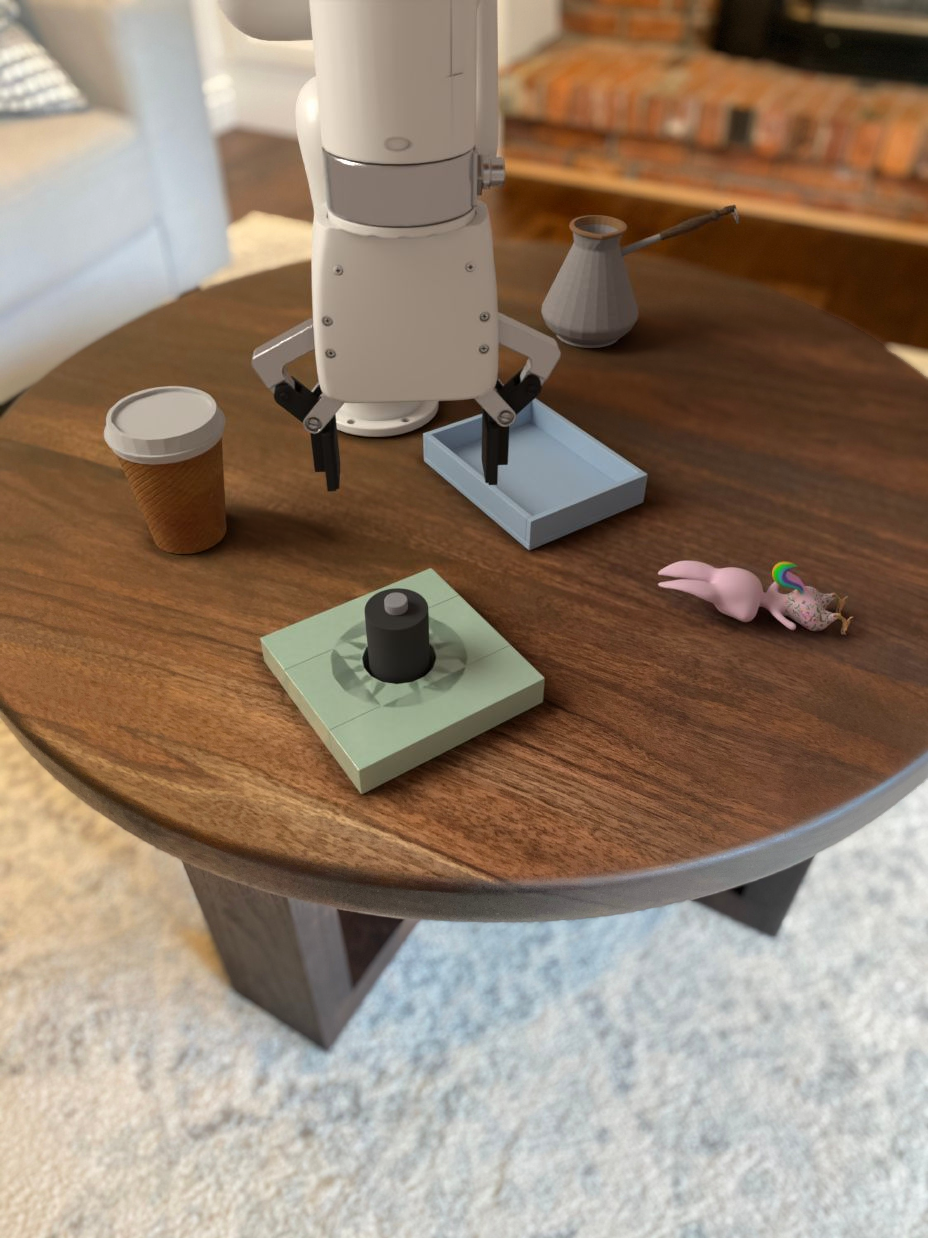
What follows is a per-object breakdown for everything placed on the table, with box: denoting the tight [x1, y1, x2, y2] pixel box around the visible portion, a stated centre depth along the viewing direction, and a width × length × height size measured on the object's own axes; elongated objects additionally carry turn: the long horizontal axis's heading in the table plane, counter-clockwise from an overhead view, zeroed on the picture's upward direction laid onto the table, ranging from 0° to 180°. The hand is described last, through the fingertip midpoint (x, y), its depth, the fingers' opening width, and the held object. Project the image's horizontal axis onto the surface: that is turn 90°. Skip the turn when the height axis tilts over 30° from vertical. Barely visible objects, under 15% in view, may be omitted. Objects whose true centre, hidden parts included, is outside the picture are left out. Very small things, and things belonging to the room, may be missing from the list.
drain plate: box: [259, 567, 546, 795], centre depth 69 cm, size 15×15×2 cm
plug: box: [364, 588, 431, 684], centre depth 67 cm, size 4×4×8 cm
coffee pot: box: [540, 204, 740, 349], centre depth 108 cm, size 21×12×15 cm, turn 91°
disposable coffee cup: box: [103, 385, 228, 555], centre depth 79 cm, size 10×10×12 cm
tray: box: [422, 397, 648, 551], centre depth 88 cm, size 17×13×3 cm
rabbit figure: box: [657, 560, 854, 635], centre depth 73 cm, size 6×6×15 cm
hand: (412, 476), depth 58 cm, fingers open, 9 cm apart
